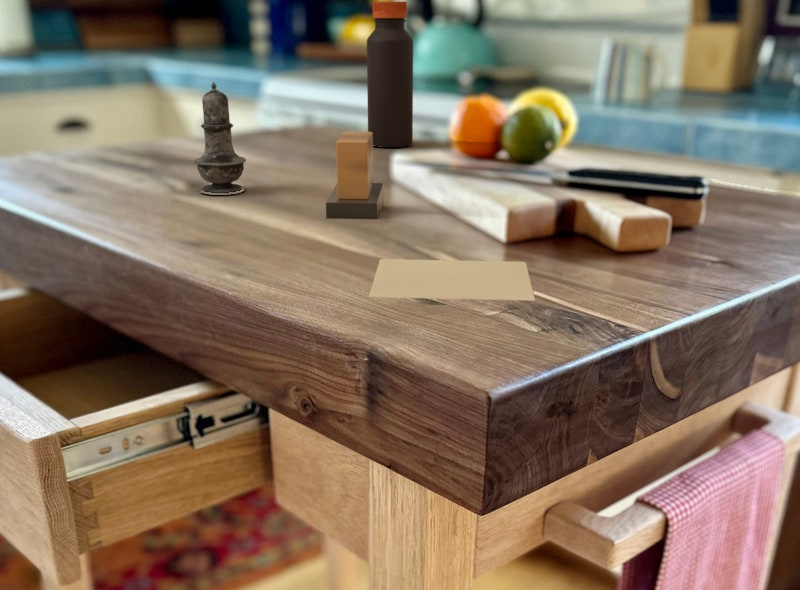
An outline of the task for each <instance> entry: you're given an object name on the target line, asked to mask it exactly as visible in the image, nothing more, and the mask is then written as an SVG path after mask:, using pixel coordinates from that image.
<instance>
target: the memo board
mask: <svg viewBox="0 0 800 590" xmlns="http://www.w3.org/2000/svg"><path fill="white" fill-rule="evenodd" d="M528 269H529V268H528V265H527V262H526V261H505V260H504V261H503V260H502V261H500V260H454V259H453V260H452V259H451V260H449V259H447V260H446V259H393V258H392V259H391V258H389V259H388V258H380V259H379V262H378V265H377V268H376V271H375V275H374V279H373V282H372V285H371V288H370V291H369V295H368V298H386V299H387V298H391V299H392V298H393V299H394V298H395V299H431V300H432V299H435V300H436V299H437V300H438V299H439V300H441V299H442V300H479V301H483V300H487V301H529V302H531V301H533V302H536V297H535V293H534V289H533V284H532V281H531V276H530V272H529V270H528Z"/></svg>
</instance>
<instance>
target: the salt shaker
mask: <svg viewBox="0 0 800 590" xmlns="http://www.w3.org/2000/svg"><path fill="white" fill-rule="evenodd" d="M210 87H211V89H210V90H209V91H208V92H205V94H203V96H202V99H201V103H202V115H203V123H202V124H200V127H201V128H202V129H203V132H204V151H203V154H201V156H200V157H197V158H195V159H194V160H193V164H195V165H196V167H197V169H196V170H197V171H198V174H199V175H200V177H201V178H202V179H203V180H204V181H205V182H208V183H211V184H207V185H204V186H203V187H202V188H201V189H202V190H203V191H205V192H211V193H229V192H236V191H240V190H242V187H243V186H242V185H240V184H238V183H234V182H237V181H238V180H239V178H240V177H241V176H242V175H243V172H244V169H245V167H244V165H245V164H244V163H246V161H247V159H246V158H245V157H243V156H240V155H239V154H237V153H236V152H235V149H234V145H233V139H232V138H233V137H232V128H233V127H234V124H232V123H231V122H230V111H229V108H230V107H229V98H228V96H227V95H226V94H225V93H224V92H222V91H220V90H218V89H217V87H218V85H217V84H216V83H215V82H214V81H213V82H212V83H211V85H210Z"/></svg>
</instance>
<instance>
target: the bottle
mask: <svg viewBox="0 0 800 590" xmlns="http://www.w3.org/2000/svg"><path fill="white" fill-rule="evenodd" d="M407 13H408V2H407V1H389V0H388V1H387V0H386V1H372V18H373V20H372V22H374V30H372V32H371V33H370V34H369V36H368V37H367V39H366V81H367V82H366V84H367V85H366V87H367V132H372V136H373V145H375V146H381V147H403V146H408V145H410V144H411V145H413V139H414V138H413V135H414V133H413V132H414V131H413V129H414V128H413V125H414V123H413V122H414V121H413V120H414V115H413V113H414V111H413V110H414V109H413V108H414V96H413V95H414V92H413V91H414V39H413V37H412V36H411V35H410V33H409V32H408V31H407V30H406V27H405V22H407V20H406V19H407V18H408V14H407ZM411 145H410V146H411ZM408 147H409V146H408ZM403 148H404V147H403Z"/></svg>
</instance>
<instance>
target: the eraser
mask: <svg viewBox="0 0 800 590" xmlns="http://www.w3.org/2000/svg"><path fill="white" fill-rule="evenodd" d="M335 148H336V149H335V151H336V184H335V186H334V188H333V190H332V191H331V192H330V194H329V196H328V198H327V200H326V202H325V218H326V219H330V220H332V219H333V220H341V219H343V220H344V219H346V220H377V219H378V218H379V215H380V212H383V210H384V183H383V182H374V164H373V163H374V158H373V157H374V154H373V153H374V147H373V136H372V132H368V131H343V132H342V134H341V135H340V136H339V138H338V139H337V140H336V142H335Z"/></svg>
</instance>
